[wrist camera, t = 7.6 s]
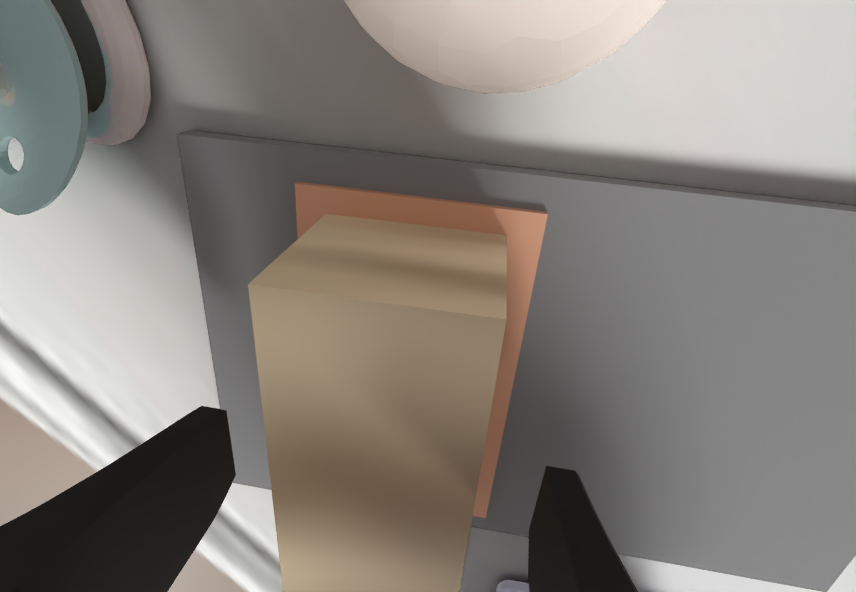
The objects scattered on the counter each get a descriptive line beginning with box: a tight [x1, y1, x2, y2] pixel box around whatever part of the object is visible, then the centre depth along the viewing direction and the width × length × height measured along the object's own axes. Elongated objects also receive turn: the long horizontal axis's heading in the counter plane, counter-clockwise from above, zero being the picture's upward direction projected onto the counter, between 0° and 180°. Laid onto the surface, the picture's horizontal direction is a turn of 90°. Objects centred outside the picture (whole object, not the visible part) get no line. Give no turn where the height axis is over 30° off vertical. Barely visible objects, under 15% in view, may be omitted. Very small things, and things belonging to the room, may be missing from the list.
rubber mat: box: [177, 130, 856, 592], centre depth 14 cm, size 12×20×1 cm, turn 86°
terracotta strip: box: [295, 182, 548, 518], centre depth 14 cm, size 10×6×1 cm, turn 176°
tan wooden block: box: [248, 214, 507, 592], centre depth 12 cm, size 9×4×4 cm, turn 176°
